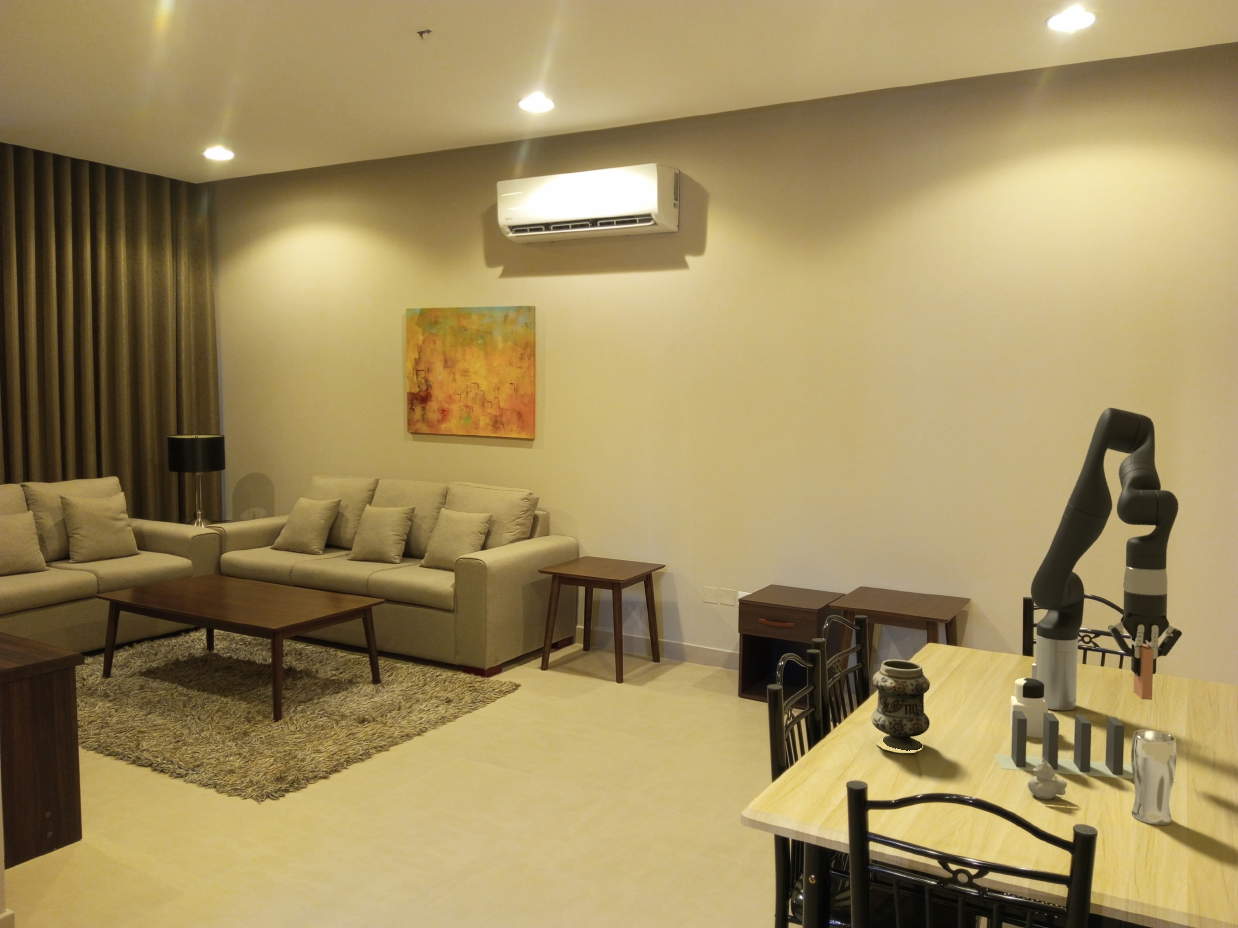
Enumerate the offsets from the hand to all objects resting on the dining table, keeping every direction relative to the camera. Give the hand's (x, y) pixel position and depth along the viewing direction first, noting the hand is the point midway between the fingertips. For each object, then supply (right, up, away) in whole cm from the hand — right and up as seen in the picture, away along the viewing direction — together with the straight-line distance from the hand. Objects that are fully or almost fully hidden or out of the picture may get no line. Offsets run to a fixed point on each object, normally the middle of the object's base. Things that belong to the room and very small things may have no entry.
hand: (1143, 675), depth 185 cm
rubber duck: (-25, -21, -12) cm, 34 cm away
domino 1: (-23, -19, +5) cm, 30 cm away
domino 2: (-17, -19, +4) cm, 26 cm away
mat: (-11, -19, +2) cm, 23 cm away
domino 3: (-11, -19, +2) cm, 22 cm away
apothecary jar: (-44, -19, +15) cm, 50 cm away
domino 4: (-5, -19, +1) cm, 20 cm away
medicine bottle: (-13, -18, +23) cm, 32 cm away
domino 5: (0, -4, 0) cm, 4 cm away
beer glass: (-10, -21, -20) cm, 31 cm away
